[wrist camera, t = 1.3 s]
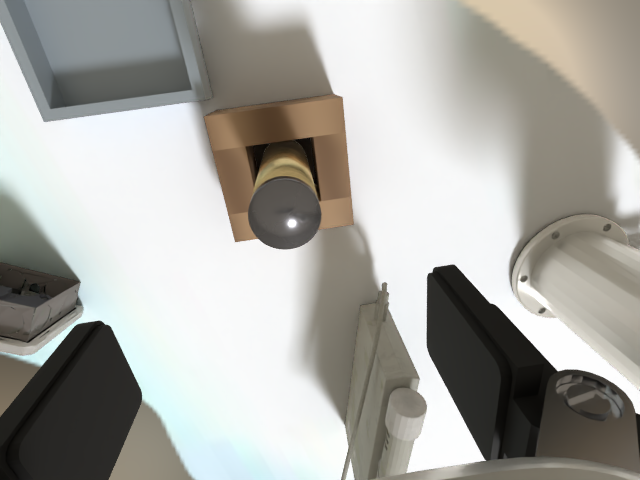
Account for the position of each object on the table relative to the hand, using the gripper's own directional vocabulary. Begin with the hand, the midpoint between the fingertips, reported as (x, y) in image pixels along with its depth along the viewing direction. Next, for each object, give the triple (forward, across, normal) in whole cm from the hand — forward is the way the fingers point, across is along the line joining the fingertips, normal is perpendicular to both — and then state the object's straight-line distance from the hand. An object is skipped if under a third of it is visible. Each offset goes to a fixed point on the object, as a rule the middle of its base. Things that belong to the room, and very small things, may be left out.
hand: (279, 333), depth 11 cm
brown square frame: (+24, 0, 0) cm, 24 cm away
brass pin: (+24, 0, 0) cm, 24 cm away
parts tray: (+24, +11, -12) cm, 29 cm away
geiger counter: (+24, -6, +24) cm, 35 cm away
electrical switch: (+24, +26, +8) cm, 36 cm away
